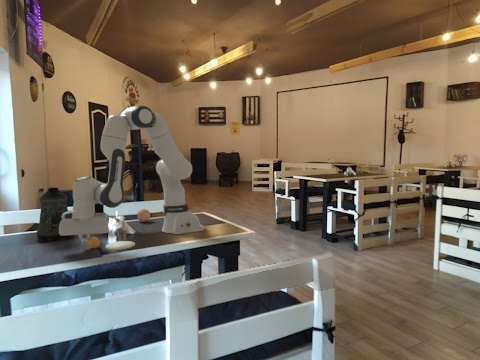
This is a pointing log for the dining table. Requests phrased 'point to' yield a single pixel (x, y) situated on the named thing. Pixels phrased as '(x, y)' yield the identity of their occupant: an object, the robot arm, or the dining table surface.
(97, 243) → the ball
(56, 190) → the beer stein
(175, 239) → the dining table surface
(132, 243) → the cream disc
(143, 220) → the toy ball
